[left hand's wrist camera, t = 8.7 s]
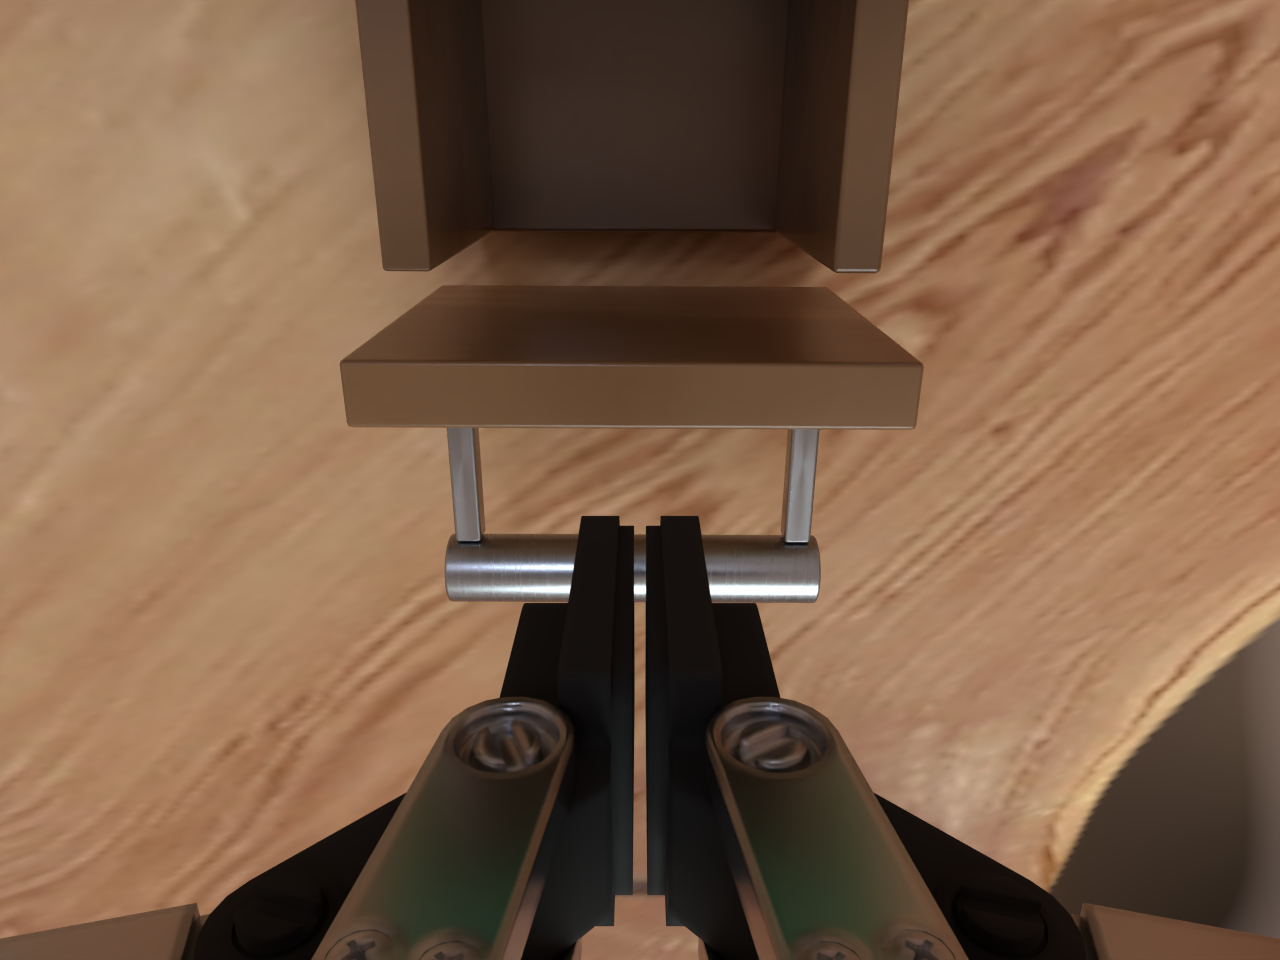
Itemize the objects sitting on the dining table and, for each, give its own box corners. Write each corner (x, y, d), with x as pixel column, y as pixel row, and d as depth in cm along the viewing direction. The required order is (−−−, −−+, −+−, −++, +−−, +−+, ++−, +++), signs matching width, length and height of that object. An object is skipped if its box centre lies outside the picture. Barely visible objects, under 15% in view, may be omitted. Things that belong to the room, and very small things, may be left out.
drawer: (808, 526, 24) (882, 697, 17) (459, 524, 24) (379, 696, 17) (883, -371, 17) (1071, -762, 10) (388, -374, 17) (194, -769, 10)
